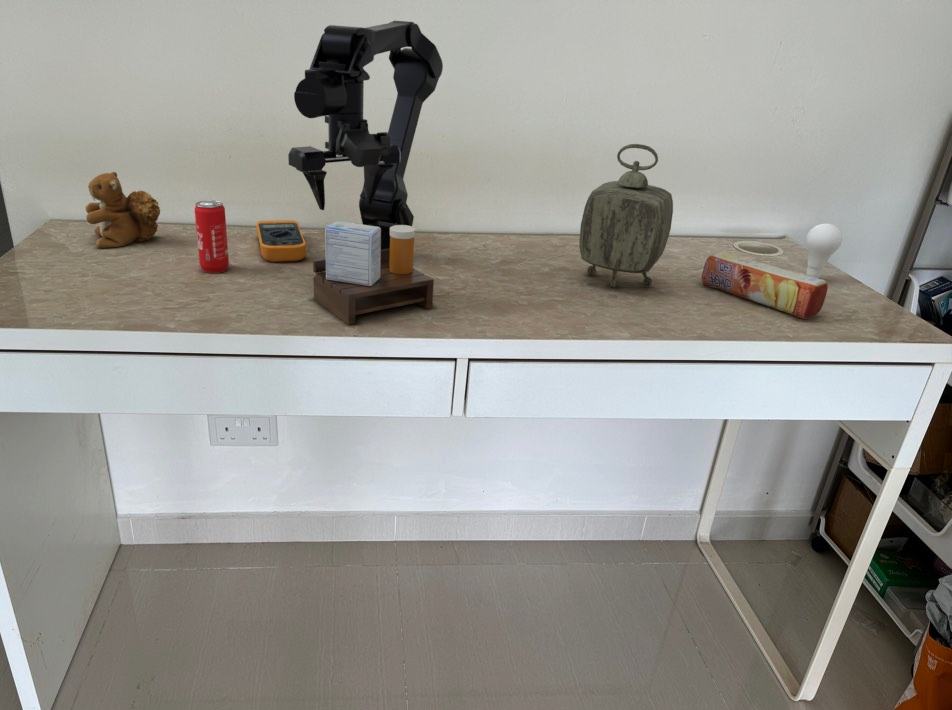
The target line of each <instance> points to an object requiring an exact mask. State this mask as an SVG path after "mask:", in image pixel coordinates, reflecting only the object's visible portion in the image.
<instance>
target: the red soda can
mask: <svg viewBox="0 0 952 710" xmlns="http://www.w3.org/2000/svg"><path fill="white" fill-rule="evenodd" d="M194 217H195V218H194V219H195V230H196V231H195V232H196V240H197V251H198V261H199V262H198V263H199V266H200V268H201V269H202V270H201V271H202V272H204V273H208V274H220V273H224V272H226V271H227V270H228V267H229V263H230V262H229V260H230V258H229V246H228V234H227V233H228V232H227V221H226V208H225V206H224V203H223V202H222V201H220V200H212V199H210V200H209V199H207V200H200V201H197V202H195V207H194Z"/></svg>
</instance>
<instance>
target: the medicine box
mask: <svg viewBox="0 0 952 710" xmlns="http://www.w3.org/2000/svg"><path fill="white" fill-rule="evenodd" d="M324 235H325V236H324V239H325V240H324V241H325V244H324V245H325V258H326V271H325V272H326V279H327V280H333V281H340V282H346V283H353V284H359V285H365V286H372V285H373V284H374V283H375V282H376V281H377V280H378V279H380V259H381V228H380V227H375V226H369V225H363V224H362V223H354V222H348V221H347V222H346V221H338V220H337V221H334V222H332V223H331V224H329V225H328V226H326V227H325V228H324Z"/></svg>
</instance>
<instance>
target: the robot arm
mask: <svg viewBox="0 0 952 710" xmlns="http://www.w3.org/2000/svg"><path fill="white" fill-rule="evenodd" d="M323 32H324V33H322V34H321V37H320V39H319V41H318V44H317V47H316V50H315V53H314V55H313V58H312V60H311V63H310V66H309V68H308V69H305V70H304V78H303V79H301V80H299V82H298V83H297V85H296V87H295V91H294V93H293V96H294V97H293V99H294V104H295V106H296V109H297V110H298V112H299V113H300V114H301V115H302V116H304V117H305V118H307V119H316V118H321V117H324V123H325V124H328V125H327V126H328V127H327V128H328V141H325V142H324V149H326V150H320V149H318V148H316V147H314V146H296V147H294V146H293V147H291V149H290V150H289V152H288V155H287V156H288V157H287V158H288V165H289V166H291V167H293V168H295V170H296V171H298V172H301V173H302V174H303V176H304V178H305V180H306V181H307V184H308V185H309V188H310V190H311V192H312V195H313V196H314V199H315V202H316V203H317V206H318V208H319V210H321V211H324V210H325V208H326V207H325V206H326V194H325V192H326V191H325V178H326V176H327V173H328V172H327V171H326V170H324V167H325V166H326V164H329V163H340V162H341V163H342V162H350V163H351V164H352V165H353V166H354V167H357V168H363V185H362V186H363V187H362V190H361V193H360V194H359V201H358V209H359V214H360V218H361V224H362V225H369V226H375V227H380V228H381V249H388V248H390V227H392V226H395V225H407V226H412V227H413V224H414V219H415V216H414V214H413V213H412V210H411V209H410V207H409V205H408V203H407V202H408V191H407V187H406V183H405V181H404V177H405V173H406V170H407V165H408V162H409V158H410V153H411V150H412V146H413V143H414V142H413V141H414V138H415V134H416V131H417V126H418V122H419V119H420V114H421V111H422V107H423V104H424V102H425V101H426V100H427V99H428V98H429V97H430V96H431V95H432V94H433V93H434V92H435V91H436V88H437V85H438V82H439V80H440V77H441V76H442V73H443V69H444V68H443V66H444V65H443V60H442V57H441V55H440V52H439V50H438V48H437V46H436V45H435V43H434V42H433V41H431V40H430V39H429V38H428V37H427V36H426V35H425V34H424V33H423V32H422V31H421V29H420V26H419V25H418V23H415V22H414V21H407V20H406V21H405V20H392V21H390V22H388V23H382V24H377V25H372V26H367V27H362V26H361V27H360V26H350V25H349V26H347V25H334V24H329V25H327V26H326V27H325V28H324V29H323ZM387 52H389V54H388V60H389V62H390V64H391V66H392V68H393V74H392V78H393V82H394V85H395V90H396V91H397V92H396V93H397V94H396V99H395V103H394V106H393V111H392V113H391V114H392V115H391V119H390V123H389V125H388V130H387V131H382V132H377V133H370V131H369V123H368V119H365V118H364V91H365V90H364V86H365V85H364V83H365V82H364V81H369V80H370V79H371V76H370V74H369V73H368V72H367V70H365V69H364V67H366V66H368V65H369V64H370V63H372V62H374V60H375V56H376V55H379V54H383V53H387ZM385 262H387V261H385ZM380 263H381V262H380Z"/></svg>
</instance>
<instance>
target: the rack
mask: <svg viewBox="0 0 952 710" xmlns="http://www.w3.org/2000/svg"><path fill="white" fill-rule="evenodd" d="M389 259H390V248H388V249H381V259H380V262H381V263H380V279H378V280H377V281H376V282H375V283H374V284H373V285H372V286H365V285H359V284H353V283H346V282H340V281H333V280H327V279H326V257H325V258H318V259H317V258H316V259H313V260H312V270H313V271H312V272H313V273H315V275H314V276H313V277H312V278H313V301H314V302H316V303H317V304H318V305H320V306H322V307H323V308H324V309H326V310H327V311H329V312H330V313H332V314H333V315H334V316H336V317H337V318H338V319H339V320H341V321H343V322H344V323H345V324H347V325H349V326H351V325H354V324H356V316H357V315H363V314H366V313H367V314H368V313H371V312H376V311H382V310H388V309H392V308H396V307H401V306H406V305H412V304H418V305H419V306H421V307H423V308H425V309H431V308H433V300H434V283H435V282H434V281H435V278H433V277H430V276H429V275H427V274H425V273H423V272H421V271H420V270H417V269H415V268H414V267H413V272H412V273H409V274H395V273H392V272H390V271H389ZM385 261H387V262H385Z"/></svg>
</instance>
